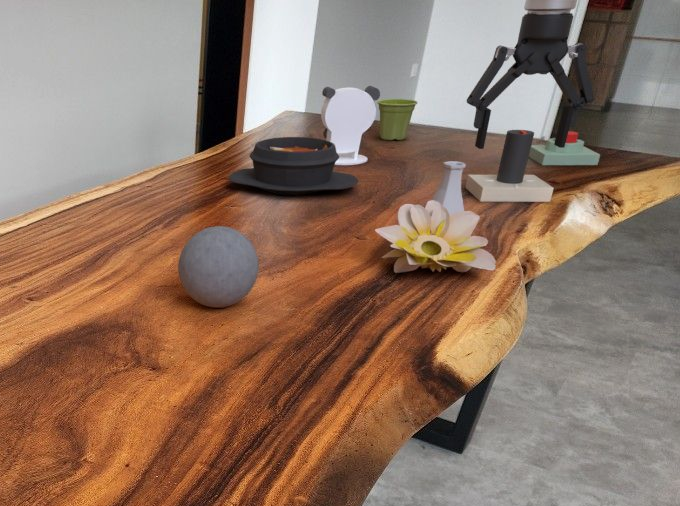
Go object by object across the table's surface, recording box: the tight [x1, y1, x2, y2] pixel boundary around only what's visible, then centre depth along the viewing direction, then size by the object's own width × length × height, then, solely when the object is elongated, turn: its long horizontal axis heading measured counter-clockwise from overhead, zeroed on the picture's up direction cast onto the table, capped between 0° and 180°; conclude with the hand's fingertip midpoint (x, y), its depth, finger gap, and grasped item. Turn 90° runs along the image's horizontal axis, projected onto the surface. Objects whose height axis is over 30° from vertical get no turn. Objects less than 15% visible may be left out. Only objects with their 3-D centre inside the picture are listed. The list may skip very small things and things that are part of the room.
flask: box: [431, 160, 467, 216], centre depth 115 cm, size 7×7×10 cm
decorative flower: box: [374, 199, 497, 274], centre depth 97 cm, size 15×11×10 cm
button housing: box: [528, 137, 601, 166], centre depth 154 cm, size 11×10×4 cm
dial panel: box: [464, 174, 555, 203], centre depth 132 cm, size 12×10×3 cm
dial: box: [496, 129, 535, 184], centre depth 129 cm, size 4×4×9 cm
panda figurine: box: [320, 85, 381, 166], centre depth 158 cm, size 12×11×15 cm
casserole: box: [227, 136, 359, 196], centre depth 139 cm, size 25×19×8 cm
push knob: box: [566, 130, 579, 143], centre depth 153 cm, size 4×4×2 cm
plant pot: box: [377, 98, 419, 141], centre depth 178 cm, size 9×9×9 cm
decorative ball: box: [177, 225, 260, 309], centre depth 90 cm, size 10×10×10 cm
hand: (518, 147), depth 129 cm, fingers open, 13 cm apart
